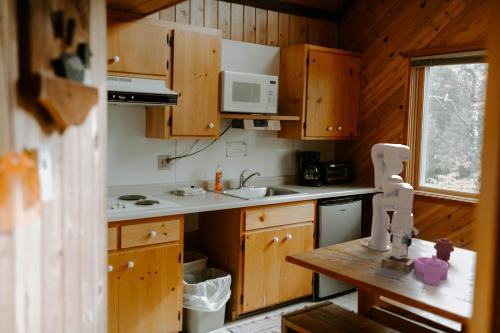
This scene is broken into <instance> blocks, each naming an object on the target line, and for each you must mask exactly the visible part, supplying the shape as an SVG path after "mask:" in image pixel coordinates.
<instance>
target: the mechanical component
mask: <svg viewBox="0 0 500 333" xmlns="http://www.w3.org/2000/svg"><path fill="white" fill-rule="evenodd" d="M453 246H454V242H453V241H452V240H450V239H449V238H445V237H442V238H437V239H436V240H435V244H434V245H433V249H434V250H436V251H435V252H436V254H435V256H437V259H440V260H443V261H445V262H447V263H448V262H449V261H450V260H451V253H453V252H454V251H455V247H453Z"/></svg>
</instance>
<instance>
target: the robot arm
mask: <svg viewBox="0 0 500 333" xmlns="http://www.w3.org/2000/svg"><path fill="white" fill-rule="evenodd" d="M370 152H371V154H370V157H371V159H372V164H373V168H374V188H375V189H376V191H378V192H383V193H377V194H374V195H373V198H372V223H371V233H370V238H367V237H364V238H363V242H364V243H367V245H366V246H367V248H368V249H370V250H373V251H379V252H380V251H381V252H386V251H387V252H388V251H390V250H391V246H389V245H388V242H390V244H392V241H393V233H394V232H397V233H398V232H399V230H402V231H403V234H407V235H408V237H409V239H408V243H407V246H408V248H409V247H410V246H412V242H413V241H412V240H413V238H415V237H416V236H417V235H418V234H420V232H419V230H418V229H417V228H416V227H415V226H414V215H413V203H414V194H415V189H414V187H412V186H411V184H409V183H405V182H404V179H403V178H402V177H401V176H399V175H400V174H401V173H402V172H403V171H404V164H403V162H408V161H410V160H411V157H412V151H411V149H410V147H408V146H407V145H403V144H395V143H394V144H393V143H376V144H374V145H373V146H372V147H371V151H370ZM391 211H392V212H393V214H392V219H391V218H390V215H389V214H388V213H387V212H391ZM390 221H391V223H390ZM413 232H414V233H413ZM412 233H413V234H412ZM389 237H390V238H389Z"/></svg>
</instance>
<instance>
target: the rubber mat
mask: <svg viewBox="0 0 500 333" xmlns="http://www.w3.org/2000/svg"><path fill="white" fill-rule="evenodd" d="M406 274H407V273H405V272H401V271H396V270H392V269H387V268H383V267H381V268H379V269H378V270H376V271H375V272H373V275H377V276H380V277H384V276H386V277H385V278H388V277H389V279H392V278H394V280H397V279H398V281H400V280H401V279H402V278H403V277H404V276H406ZM403 275H404V276H403ZM402 276H403V277H402ZM401 277H402V278H401ZM400 278H401V279H400ZM399 279H400V280H399Z"/></svg>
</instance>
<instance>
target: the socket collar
mask: <svg viewBox="0 0 500 333" xmlns="http://www.w3.org/2000/svg"><path fill="white" fill-rule="evenodd" d="M415 259H416V258H413V257H408V256H407V258H400V259H398V258H396V257H394V256H392V255H391V253H388V254H387V255H386V256H385V257H383V258H382V259H381V264H380V265H381V266H380V267H381V268H387V269H391V270H395V271H396V270H397V271H400V272H401V271H402V272H404V273H405V272H406V274H409V273H410V272H411V271H412V270H414V267H415Z"/></svg>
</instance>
